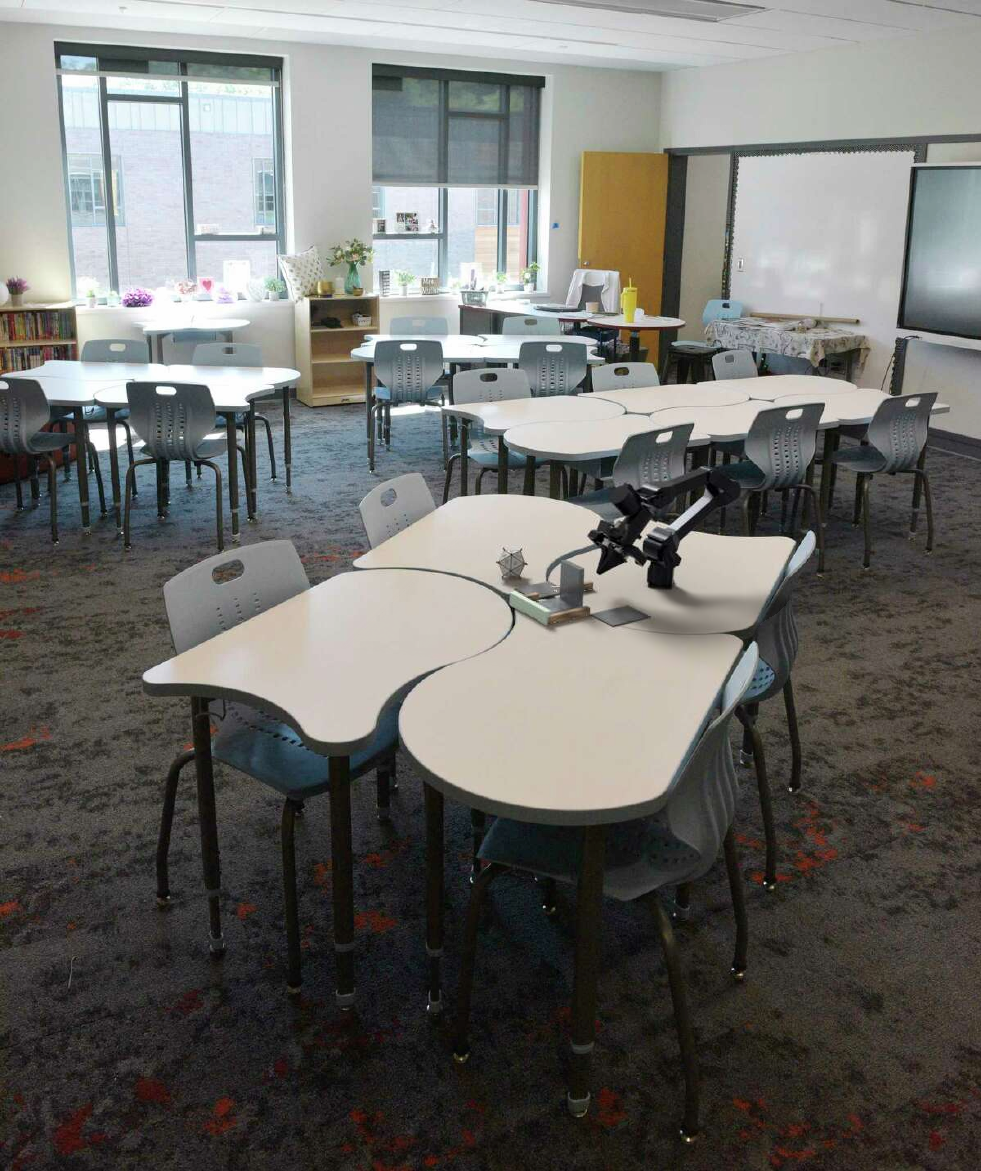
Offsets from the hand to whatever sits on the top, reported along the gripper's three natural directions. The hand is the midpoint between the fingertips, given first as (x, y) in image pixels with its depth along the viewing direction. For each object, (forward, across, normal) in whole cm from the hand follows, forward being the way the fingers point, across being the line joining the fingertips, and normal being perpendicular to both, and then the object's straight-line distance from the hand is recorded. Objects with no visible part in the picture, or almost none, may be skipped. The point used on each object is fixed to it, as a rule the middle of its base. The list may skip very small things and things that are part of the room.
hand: (597, 573), depth 277 cm
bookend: (+14, 0, -5) cm, 15 cm away
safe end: (+20, 0, -10) cm, 22 cm away
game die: (+12, -26, -2) cm, 28 cm away
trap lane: (+11, 0, -2) cm, 11 cm away
